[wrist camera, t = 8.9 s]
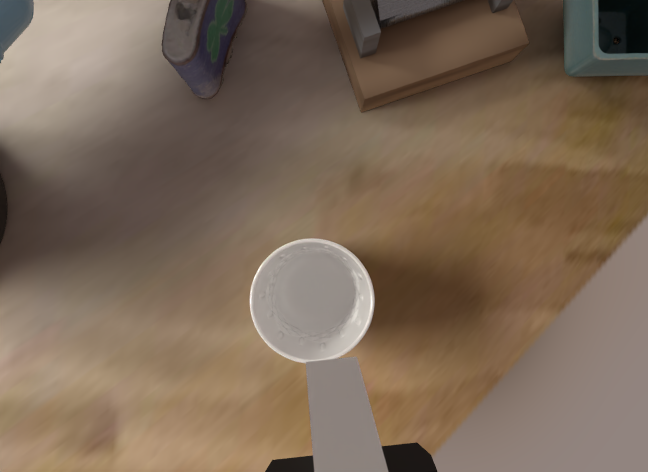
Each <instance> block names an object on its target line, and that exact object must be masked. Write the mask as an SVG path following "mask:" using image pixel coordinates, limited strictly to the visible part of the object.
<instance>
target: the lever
mask: <svg viewBox="0 0 648 472" xmlns="http://www.w3.org/2000/svg"><path fill="white" fill-rule="evenodd" d="M461 1H464V0H370V2H371V5H372V8H373V10H374V13H375V16H376V19H377V22H378V25H379V28H380V29H382V28H385V27H388V26H390V25H393V24H396V23H399V22H402V21H405V20H408V19H411V18H414V17H417V16H420V15H423V14H426V13H429V12H432V11H434V10H437V9H440V8H443V7H446V6H449V5H452V4H455V3H458V2H461Z"/></svg>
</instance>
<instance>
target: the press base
mask: <svg viewBox="0 0 648 472" xmlns="http://www.w3.org/2000/svg"><path fill="white" fill-rule="evenodd" d="M322 1H323V4H324V7H325V10H326V13H327V15H328V18H329V21H330V24H331V27H332V30H333V33H334V36H335V39H336V41H337V44H338V47H339V50H340V53H341V56H342V59H343V62H344V64H345V67H346V70H347V73H348V76H349V79H350V82H351V85H352V88H353V90H354V93H355V96H356V99H357V102H358V105H359V108H360V111H361V112H364V111H367V110H370V109H373V108H376V107H379V106H382V105H385V104H388V103H391V102H393V101H396V100H399V99H402V98H405V97H408V96H411V95H414V94H417V93H420V92H423V91H426V90H429V89H431V88H434V87H437V86H440V85H443V84H446V83H449V82H452V81H455V80H458V79H461V78H464V77H467V76H470V75H472V74H475V73H478V72H481V71H484V70H487V69H490V68H493V67H496V66H499V65H502V64H505V63H508V62H510V61H512V60H513V59H514V58H515V57H516V56H517V55H518V54H519V53H520V52H521V51H522V50H523V49H524V48H525V47H526V46H527V45H528V44H529V43H530V42H529V40H528V37H527V34H526V31H525V28H524V26H523V23H522V20H521V17H520V14H519V12H518V9H517V6H516V3H515V0H464V1H461V2H458V3H455V4H452V5H449V6H446V7H443V8H440V9H437V10H434V11H432V12H429V13H426V14H423V15H420V16H417V17H414V18H411V19H408V20H405V21H402V22H399V23H396V24H393V25H390V26H388V27H385V28H382V29H380V28H379V25H378V22H377V19H376V16H375V13H374V10H373V8H372V5H371V2H370V0H322Z"/></svg>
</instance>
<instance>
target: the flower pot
mask: <svg viewBox="0 0 648 472" xmlns="http://www.w3.org/2000/svg"><path fill="white" fill-rule="evenodd" d="M563 19H564V69H565V73H566V74H567V75H569V76H573V77H582V76H648V0H563ZM614 38H618V39H619V43H618V44H615V43H614V42H613V39H614Z"/></svg>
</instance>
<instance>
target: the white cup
mask: <svg viewBox="0 0 648 472" xmlns="http://www.w3.org/2000/svg"><path fill="white" fill-rule="evenodd" d="M374 305H375V297H374V289H373V285H372V281H371V279H370V276H369V274H368V272H367V270H366V268H365V267H364V265H363V264H362V263H361V261H360V260H359V259H358V258H357V257H356V256H355V255H354V254H353V253H352V252H351V251H349V250H348V249H346V248H345V247H343V246H341V245H339V244H337V243H335V242H332V241H328V240H324V239H317V238H308V239H300V240H296V241H293V242H290V243H287V244H285V245H283V246H281V247H280V248H278V249H277V250H275V251H274V252H273V253H272V254H270V255H269V256H268V257H267V258H266V259H265V261H264V262H263V263H262V264H261V266H260V267H259V269H258V271H257V273H256V275H255V277H254V280H253V283H252V286H251V292H250V310H251V316H252V319H253V322H254V325H255V327H256V329H257V331H258V333H259V334H260V336H261V337H262V339H263V340H264V341H265V342H266V344H267V345H268V346H269V347H271V348H272V349H273V350H274V351H275V352H277V353H278V354H280V355H282V356H283V357H285V358H288V359H290V360H293V361H296V362H301V363H306V362H309V361H319V360H329V359H337V358H339V357H341V356H343V355H344V354H346V353H348V352H349V351H350V350H352V349H353V348H354V347H355V346H356V345H357V344H358V343H359V342H360V341H361V339H362V338H363V337H364V335H365V333H366V332H367V330H368V328H369V326H370V323H371V320H372V317H373V313H374Z"/></svg>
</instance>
